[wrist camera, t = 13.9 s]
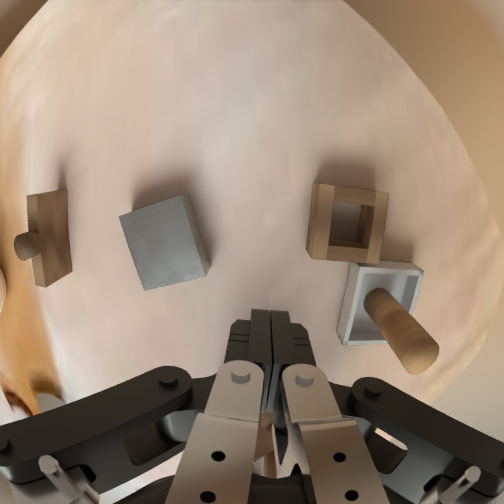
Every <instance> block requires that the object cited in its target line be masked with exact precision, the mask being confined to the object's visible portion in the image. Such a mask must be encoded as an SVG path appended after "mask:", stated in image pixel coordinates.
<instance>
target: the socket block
mask: <svg viewBox="0 0 504 504" xmlns="http://www.w3.org/2000/svg"><path fill="white" fill-rule="evenodd" d="M388 199H389V194H387V193H382V192H376V191H370V190H363V189H357V188H350V187H342V186H335V185H327V184H319V183H313V189H312V199H311V209H310V219H309V228H308V237H307V245H306V250H307V252H308V254H309V255H310V257H311V259H319V260H332V261H346V262H359V263H372V264H379V258H380V253H381V247H382V242H383V235H384V229H385V222H386V215H387V208H388ZM333 201H339V202H347V203H355V204H362V210H361V218H360V225H359V232H358V239H357V241H352V240H341V239H331V238H329V235H330V227H331V219H332V210H333Z"/></svg>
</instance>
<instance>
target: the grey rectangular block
mask: <svg viewBox="0 0 504 504" xmlns="http://www.w3.org/2000/svg"><path fill="white" fill-rule="evenodd" d="M119 219H120V222H121V225H122V228H123V231H124V235H125V238H126V241H127V244H128V247H129V250H130V253H131V255H132V258H133V261H134V264H135V267H136V269H137V272H138V275H139V278H140V280H141V283H142V285H143V288H144V291H146V290H150V289H154V288H158V287H163V286H167V285H171V284H175V283H180V282H184V281H188V280H192V279H196V278H200V277H205V276H206V275H207V273H208V271H209V269H210V267H211V265H210V262H209V258H208V255H207V252H206V249H205V246H204V243H203V239H202V236H201V233H200V229H199V226H198V223H197V220H196V216H195V213H194V209H193V206H192V203H191V199H190V196H189V193H187V194H183V195H179V196H176V197H173V198H170V199H167V200H164V201H161V202H158V203H155V204H152V205H149V206H146V207H144V208H141V209H138V210H135V211H132V212H130V213H127V214H124V215H121V216H119Z"/></svg>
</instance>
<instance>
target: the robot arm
mask: <svg viewBox="0 0 504 504" xmlns="http://www.w3.org/2000/svg"><path fill="white" fill-rule="evenodd" d="M265 404H266V413H273V419H274V420H273V425H272V438H273V446H274V453H275V461H276V469H277V478H269V477H265V476H260V475H256V474H253V473H252V468H253V461H254V453H255V446H256V439H257V431H258V424H259V421H260V414H261V412H263V413H264V410H265ZM377 427H378V428H379V429H381V430H382V431H384V432H386V433H387V434H389V435H391V436H392V437H394V438H396V439H397V440H399V441H401V442H402V443H404V444H405V445H406V446H407V448H408V450H403V449H401V448H399V447H398V446H396V445H394V444H393V443H391V442H389V441H388V440H386V439H385V438H383V437H381V436H380V435H378V434H377V433H375V430H376V429H377ZM183 450H184V452H183V455H182V457H181V460H180V463H179V466H178V468H177V471H176V474H175V475H172V476H167V477H164V478H161V479H158V480H156V481H154V482H152V483H150V484H148V485H146V486H144V487H143V488H141V489H139V490H138V491H136V492H134V493H132V494H130V495H129V496H127V497H125V498H123V499H121V500H119V501H118V502H115V503H113V504H496V501H497V499H498V496H499V495H500V494H501V493H502V492H503V491H504V443H503V442H501V441H499V440H496V439H495V438H492V437H490V436H488V435H486V434H484V433H482V432H480V431H478V430H475V429H474V428H472V427H470V426H468V425H465V424H464V423H462V422H460V421H457V420H455V419H454V418H452V417H450V416H447V415H446V414H444V413H442V412H440V411H438V410H436V409H434V408H432V407H431V406H429V405H427V404H425V403H423V402H421V401H419V400H417V399H416V398H414V397H412V396H410V395H408V394H406V393H405V392H403V391H401V390H399V389H397V388H396V387H394V386H392V385H390V384H388V383H387V382H385V381H383V380H381V379H378V378H374V377H364V378H360V379H358V380H356V381H355V382H354V384H353V385H352V387H348V386H343V385H338V384H334V383H331V382H329V381H328V380H327V377H326V375H325V373H324V372H323V371H322V370H320V369H319V368H317V366H316V362H315V359H314V355H313V351H312V347H311V343H310V340H309V336H308V332H307V330H306V329H305V328H304V327H303V326H302V325H301V324H296V323H290V317H289V312H288V311H275V310H271V311H270V313H269V310H261V309H252V310H251V321H250V320H237V321H236V322H234V323H233V324H232V325H231V329H230V335H229V340H228V345H227V350H226V355H225V361H224V364H223V365H222V366H221V367H220V368H219V370H218V372H217V373H216V374H214V375H212V376H209V377H204V378H195V379H192V378H191V376H190V374H189V373H188V372H187V371H185V370H184V369H182V368H179V367H175V366H162V367H158V368H155V369H153V370H151V371H148V372H146V373H144V374H141V375H139V376H137V377H134V378H132V379H130V380H127V381H125V382H123V383H120V384H118V385H115V386H113V387H110V388H108V389H105V390H103V391H100V392H98V393H95V394H93V395H90V396H88V397H85V398H82V399H80V400H77V401H74V402H72V403H69V404H66V405H64V406H61V407H58V408H55V409H52V410H49V411H46V412H43V413H40V414H37V415H34V416H31V417H28V418H25V419H22V420H18V421H15V422H12V423H8V424H5V425H1V426H0V473H1V474H2V476H3V477H4V478H5V479H6V480H7V481H8V483H9V485H10V488H11V490H12V493H13V495H14V498H15V500H16V502H17V504H99V495H100V494H102V493H104V492H106V491H109V490H111V489H113V488H115V487H117V486H119V485H121V484H123V483H126V482H128V481H130V480H132V479H134V478H135V477H137V476H139V475H141V474H143V473H145V472H147V471H149V470H151V469H152V468H154V467H156V466H158V465H160V464H161V463H163V462H165V461H167V460H168V459H170V458H172V457H173V456H175V455H177V454H178V453H180V452H182V451H183Z"/></svg>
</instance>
